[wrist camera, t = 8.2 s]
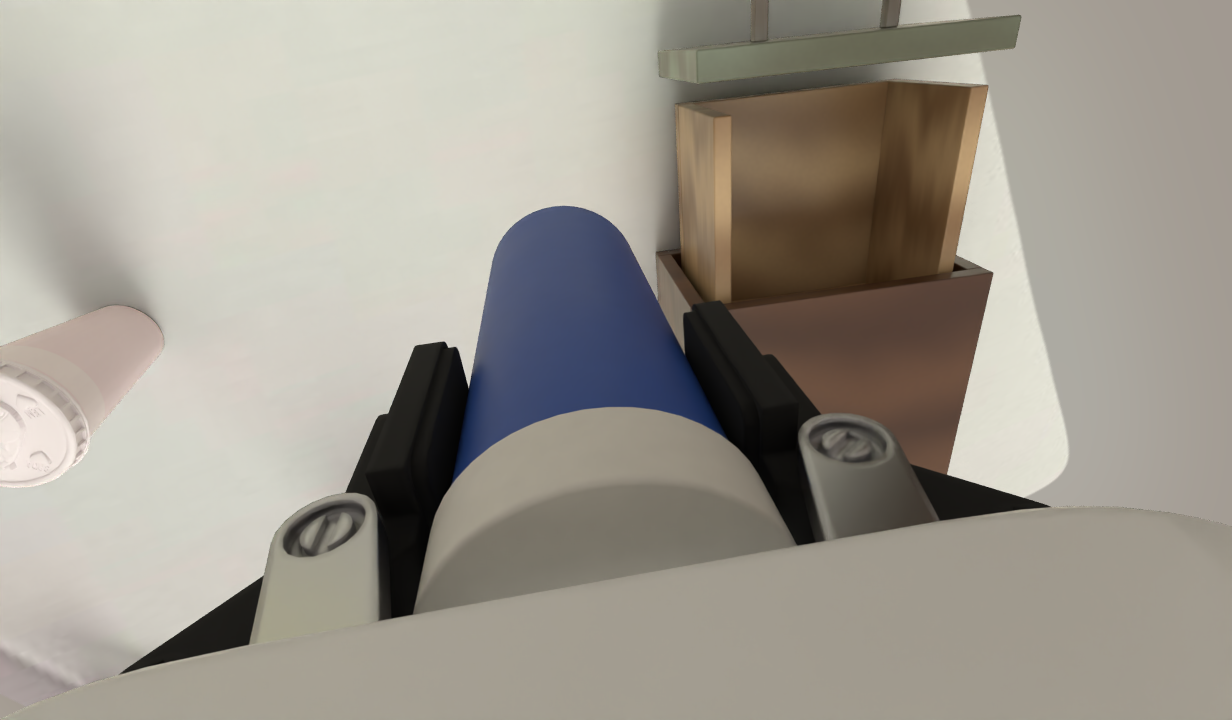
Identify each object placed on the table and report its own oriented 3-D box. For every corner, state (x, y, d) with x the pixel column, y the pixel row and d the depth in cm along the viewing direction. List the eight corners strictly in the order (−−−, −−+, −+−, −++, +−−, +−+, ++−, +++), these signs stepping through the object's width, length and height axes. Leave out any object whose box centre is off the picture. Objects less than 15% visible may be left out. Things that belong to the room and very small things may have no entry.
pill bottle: (470, 211, 16) (352, 524, 6) (633, 189, 17) (823, 445, 6) (503, 356, 19) (464, 780, 8) (646, 334, 19) (799, 712, 8)
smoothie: (176, 285, 32) (-43, 427, 20) (201, 385, 35) (23, 562, 23) (44, 278, 31) (-273, 424, 19) (80, 382, 34) (-173, 566, 22)
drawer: (651, -64, 27) (692, -104, 20) (925, -89, 28) (1054, -136, 21) (671, 313, 36) (703, 374, 29) (876, 285, 37) (955, 337, 30)
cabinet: (655, 251, 35) (694, 314, 26) (885, 221, 36) (994, 272, 27) (668, 456, 42) (702, 556, 34) (858, 426, 43) (937, 516, 35)
